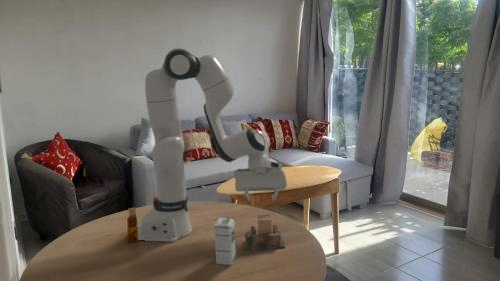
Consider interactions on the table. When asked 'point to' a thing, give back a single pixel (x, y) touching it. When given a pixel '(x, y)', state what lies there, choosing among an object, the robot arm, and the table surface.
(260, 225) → the block
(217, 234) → the syrup box
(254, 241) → the stop cradle
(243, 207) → the table surface
